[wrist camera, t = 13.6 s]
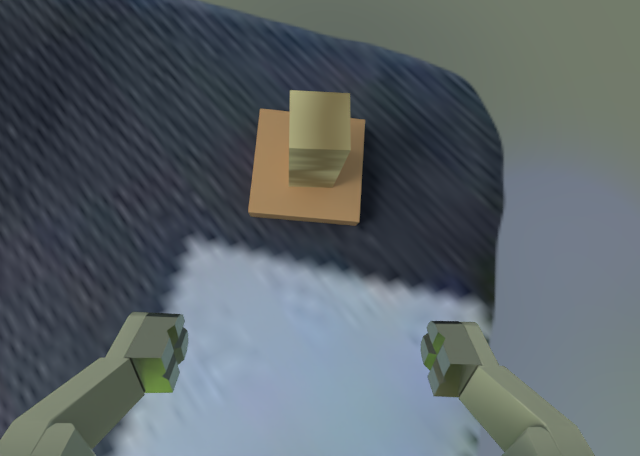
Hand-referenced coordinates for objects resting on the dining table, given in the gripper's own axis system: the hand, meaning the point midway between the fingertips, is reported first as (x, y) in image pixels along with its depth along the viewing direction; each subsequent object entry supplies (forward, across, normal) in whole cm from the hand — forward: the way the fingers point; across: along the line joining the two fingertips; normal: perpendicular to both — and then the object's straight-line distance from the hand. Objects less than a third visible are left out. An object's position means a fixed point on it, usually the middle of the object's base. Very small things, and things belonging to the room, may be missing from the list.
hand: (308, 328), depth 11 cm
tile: (+23, 0, +6) cm, 24 cm away
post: (+21, 0, +4) cm, 22 cm away
